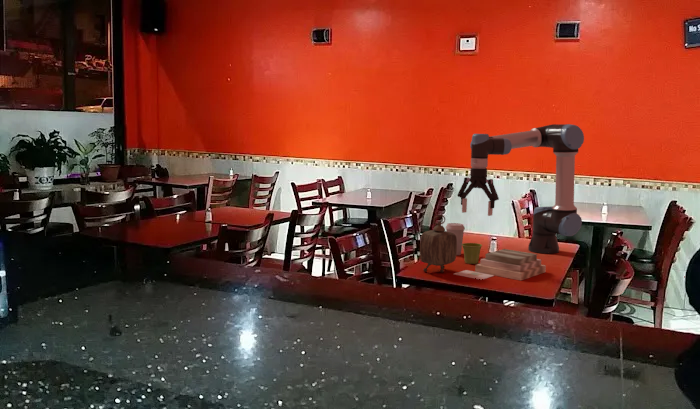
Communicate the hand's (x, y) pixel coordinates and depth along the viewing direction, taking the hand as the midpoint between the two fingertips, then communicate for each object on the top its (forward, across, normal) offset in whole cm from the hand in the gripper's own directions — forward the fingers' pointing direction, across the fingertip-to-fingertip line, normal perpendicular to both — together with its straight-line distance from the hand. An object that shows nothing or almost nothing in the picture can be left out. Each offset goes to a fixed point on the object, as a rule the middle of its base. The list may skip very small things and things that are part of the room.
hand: (476, 213), depth 287 cm
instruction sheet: (+23, +12, -20) cm, 33 cm away
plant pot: (+24, -2, 0) cm, 24 cm away
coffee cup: (+23, -19, +12) cm, 32 cm away
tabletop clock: (+24, -2, -26) cm, 35 cm away
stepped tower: (+23, +20, -3) cm, 31 cm away
